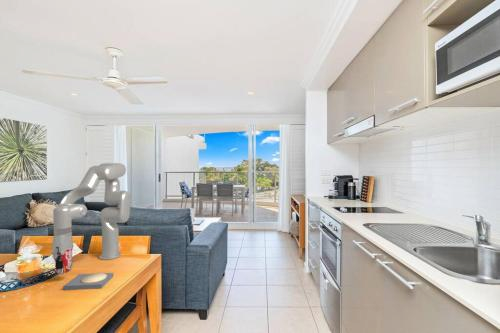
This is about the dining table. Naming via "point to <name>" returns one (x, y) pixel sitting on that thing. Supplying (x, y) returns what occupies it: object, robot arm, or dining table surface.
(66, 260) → the soda can
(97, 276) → the serving board
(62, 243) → the robot arm
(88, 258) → the dining table surface
